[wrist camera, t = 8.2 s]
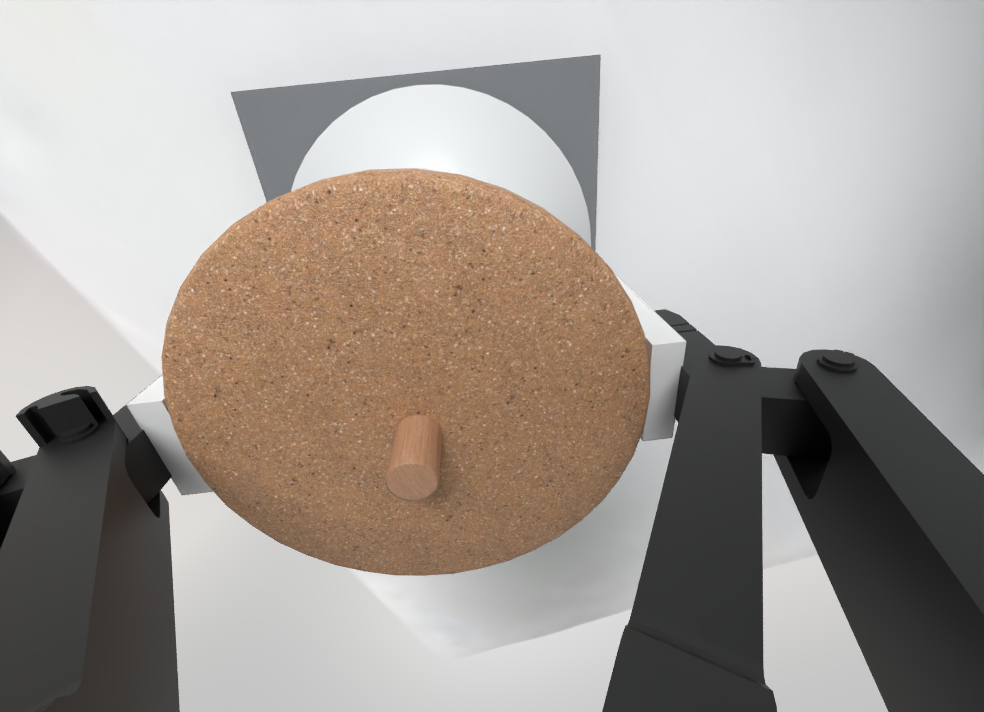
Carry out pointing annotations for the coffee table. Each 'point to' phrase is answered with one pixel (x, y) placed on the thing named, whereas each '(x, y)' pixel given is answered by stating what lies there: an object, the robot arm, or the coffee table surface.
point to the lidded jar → (406, 372)
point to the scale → (440, 130)
